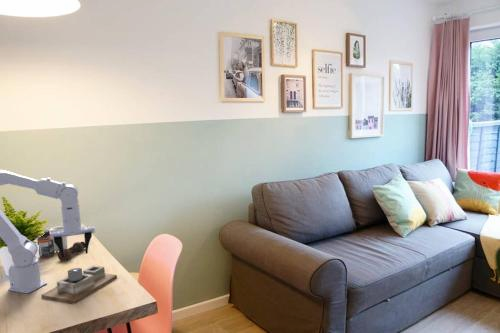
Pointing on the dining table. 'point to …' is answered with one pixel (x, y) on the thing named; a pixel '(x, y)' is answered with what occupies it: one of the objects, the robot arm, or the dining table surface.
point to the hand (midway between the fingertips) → (75, 254)
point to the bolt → (71, 251)
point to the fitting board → (80, 286)
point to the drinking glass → (62, 237)
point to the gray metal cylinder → (75, 275)
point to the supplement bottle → (46, 245)
